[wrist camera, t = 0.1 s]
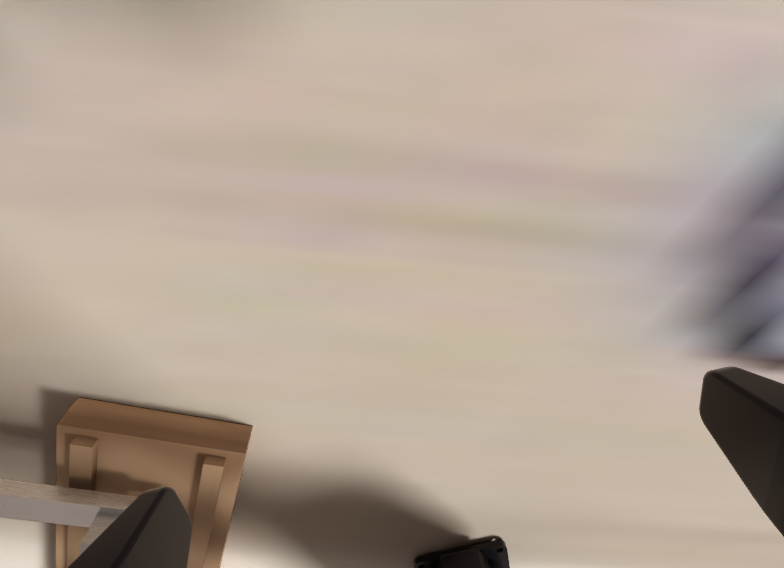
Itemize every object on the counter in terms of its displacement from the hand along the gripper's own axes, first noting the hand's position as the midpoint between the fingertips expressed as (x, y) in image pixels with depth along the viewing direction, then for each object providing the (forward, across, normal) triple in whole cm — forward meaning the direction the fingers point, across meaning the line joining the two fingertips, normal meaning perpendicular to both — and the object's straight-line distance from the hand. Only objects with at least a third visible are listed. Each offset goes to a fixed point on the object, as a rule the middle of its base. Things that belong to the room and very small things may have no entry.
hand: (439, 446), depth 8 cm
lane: (+15, +18, +18) cm, 29 cm away
